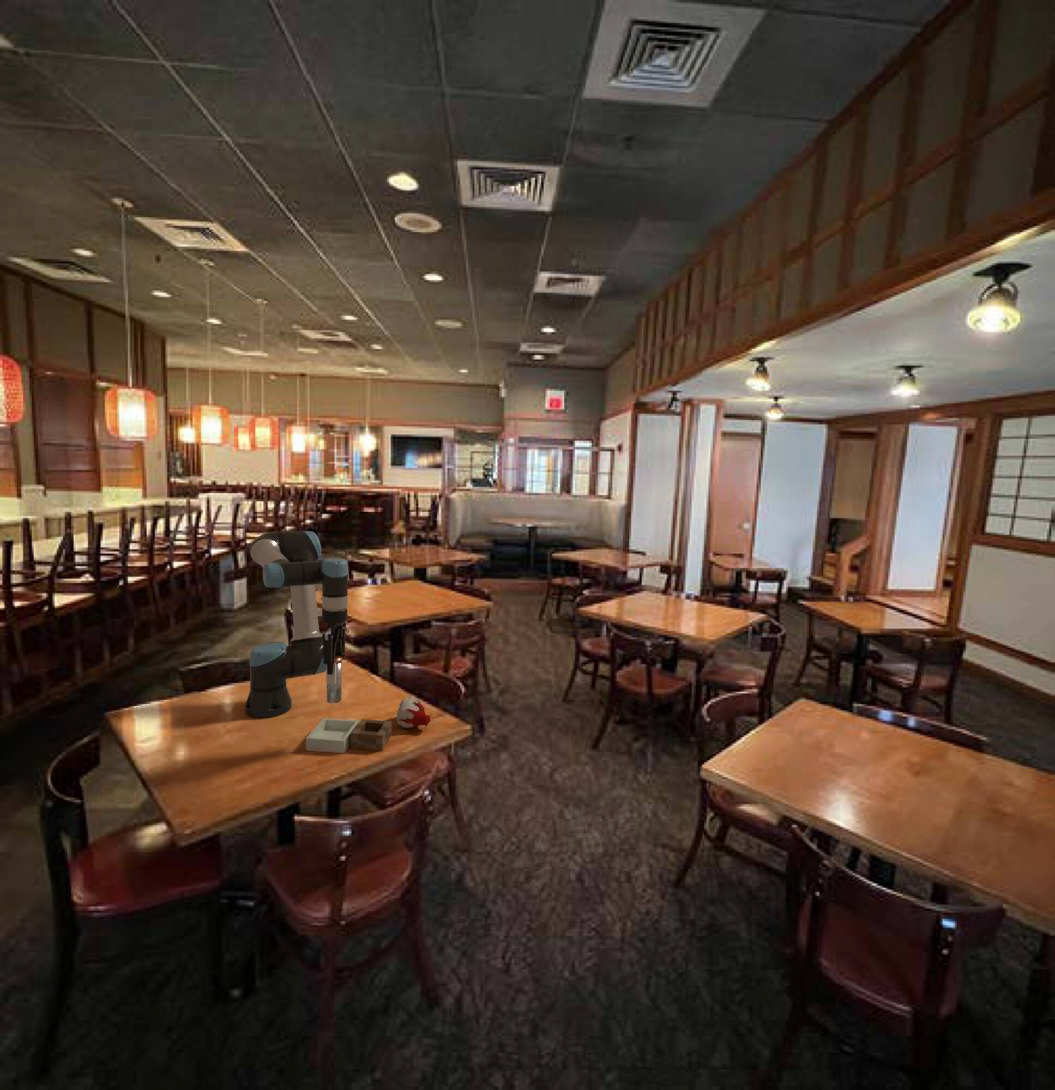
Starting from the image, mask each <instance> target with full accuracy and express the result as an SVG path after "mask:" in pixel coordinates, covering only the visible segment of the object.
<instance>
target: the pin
mask: <svg viewBox="0 0 1055 1090" xmlns="http://www.w3.org/2000/svg"><path fill="white" fill-rule="evenodd" d="M335 663H336V684H326V703H329V704H337V703H340V702H341V701H342V694H343V693H342V689H343V688H342V685H343V684H342V677H343V657H341V656H335Z"/></svg>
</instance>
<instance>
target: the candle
mask: <svg viewBox="0 0 1055 1090" xmlns="http://www.w3.org/2000/svg"><path fill="white" fill-rule="evenodd" d="M396 722H397V724H398V725H399V726H400V727H401V728H402V729H406V730H409V729H414V728H417V727H419V726H425V727H427V726H428V725H429V724H430V722H431V716H430V715H428V714H426V712H425V707H424V703H423V701H422V700H421V699H418V698H417V697H415V696H413V695H411V696H409V697H404V698H402V700H401V701H400V703H399V707H398V709H397V714H396Z"/></svg>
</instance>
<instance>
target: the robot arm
mask: <svg viewBox="0 0 1055 1090" xmlns="http://www.w3.org/2000/svg"><path fill="white" fill-rule="evenodd" d="M249 555H250V558H251V560H252V561H253V562H255V564H258V565H259V566H261V567H262V582H263V586H265V587H266V588H276V589H278V588H285V587H287V588H288V587H290V597H291V598H290V599H291V610H292V620H293V634H294V635H293V636H292V638H291V639H290V641H289V642H290V644H289V645H287V644H286V642H284V641H271V642H266V643H262V644H259V645H257V646H256V647H254V648H253V649H252V650H251V651H250V653H249V654H250V655H249V680H250V681H249V689H250V690H249V694H248V696H247V699H246V701H245V704H244V713H245V715H247V716H248V717H250V718H254V719H255V718H257V719H267V718H273V717H277V716H280V715H284V714H285V713H287V712H289V711H290V710H291V708H292V706H293V704H292V698H291V695H290V692H289V690H288V686H287V680H288V679H289V680H290V679H293V678H295V679H296V678H301V677H307V676H314V675H315V676H316V675H319V674H323V673H325V672H326V673H325V674H326V677H325V678H326V680H325V681H326V685H327V684H336V663H335V656H341V657H342V658H345V657H346V654H345V653H346V628H347V622H346V621H347V620H348V609H347V608H348V607H349V601H348V600H349V599H348V598H349V597H348V595H349V594H348V590H349V585H348V584H349V583H348V582H349V580H348V579H349V565H348V561H347V560H346V559H344V558H338V557H335V558H333V557H331V558H322V545H321V542H320V539H319V536H318V535H317V534H316V533H315V532H314V531H310V530H309V531H308V530H307V531H305V530H295V531H294V530H292V531H291V530H290V531H268V532H266V533H263V534H261V535H259V536H258V537H256V538H255V539H254V540H253V541H252V542H251V544H250V546H249ZM316 585H321V598H320V600H321V608H322V610H321V620H322V622H324V623H325V624H326V629H325V633H320V628H319V627H320V625H319V618H318V617H319V616H318V605H317V604H318V603H317V592H316V591H317V590H316Z"/></svg>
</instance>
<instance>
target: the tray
mask: <svg viewBox="0 0 1055 1090" xmlns="http://www.w3.org/2000/svg"><path fill="white" fill-rule="evenodd" d="M360 721H361V720H356V719H343V718H341V719H340V718H327V717H324V718H323V719H322V720H321V721H320V722H319V723H318V724H317V725H316V727H315V728H313V729H312V731H310V733H309V734H308V735H307V736H306V737H305V751H311V752H324V753H338V754H339V753H340V754H345V753H346V752H347V750H348V749H349V747H351V733H352V731H353V730H354V729H355V727H356V726H357V725H358V724H359V722H360Z"/></svg>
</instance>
